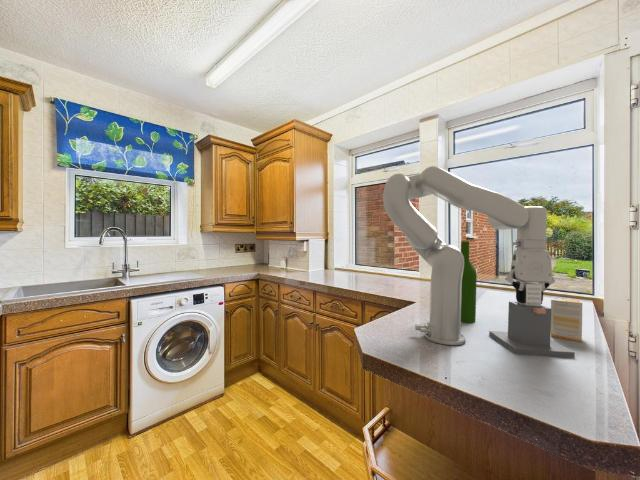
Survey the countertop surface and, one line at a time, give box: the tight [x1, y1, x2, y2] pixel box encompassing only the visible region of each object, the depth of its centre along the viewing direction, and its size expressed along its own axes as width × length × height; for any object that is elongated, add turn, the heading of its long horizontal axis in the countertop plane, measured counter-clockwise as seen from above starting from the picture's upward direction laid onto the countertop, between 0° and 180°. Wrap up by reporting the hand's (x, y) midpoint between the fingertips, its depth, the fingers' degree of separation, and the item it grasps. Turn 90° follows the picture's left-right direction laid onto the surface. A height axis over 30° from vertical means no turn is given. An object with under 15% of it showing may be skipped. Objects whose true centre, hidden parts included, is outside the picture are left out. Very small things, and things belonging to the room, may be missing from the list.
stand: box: [488, 300, 576, 358], centre depth 91 cm, size 16×16×13 cm
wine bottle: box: [460, 240, 478, 324], centre depth 118 cm, size 9×9×32 cm
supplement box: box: [550, 297, 583, 342], centre depth 99 cm, size 8×5×13 cm, turn 48°
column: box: [518, 282, 542, 307], centre depth 91 cm, size 5×5×19 cm
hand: (529, 302), depth 91 cm, fingers closed on column, 4 cm apart
